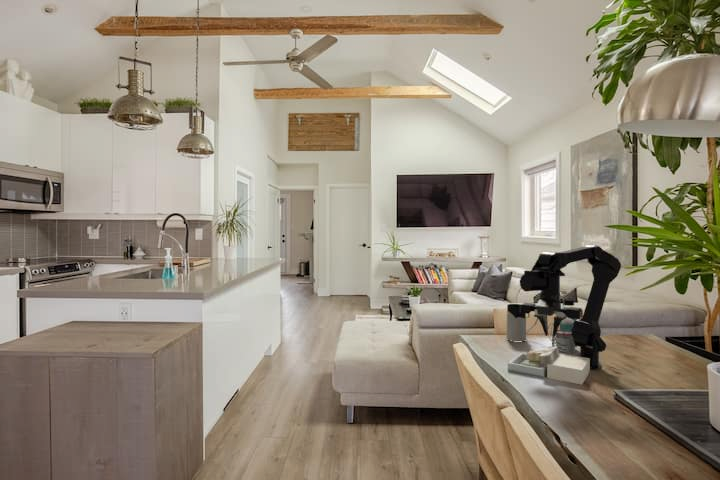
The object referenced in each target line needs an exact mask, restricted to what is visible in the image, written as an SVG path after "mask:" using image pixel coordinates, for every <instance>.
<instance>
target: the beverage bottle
mask: <svg viewBox="0 0 720 480" xmlns="http://www.w3.org/2000/svg"><path fill="white" fill-rule="evenodd" d="M562 305H563V306H564V309H567V308H569V307H574V305H575V301H574V299H571V298H570V299H569V298H563V299H562ZM566 306H567V307H566ZM568 306H569V307H568ZM561 309H563V307H561ZM567 318H568V317H567ZM570 319H571V318H570ZM572 320H574V321H575V320H578V319H572ZM572 328H573V325H564V330H566V331H571V329H572ZM558 330H563V324H560V325H559V328H558ZM563 339H571V338H569V337H564V338H563ZM563 346H567V344H566V345H563ZM577 347H578V346H575V348H577Z"/></svg>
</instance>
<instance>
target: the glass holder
mask: <svg viewBox="0 0 720 480" xmlns="http://www.w3.org/2000/svg"><path fill="white" fill-rule="evenodd" d="M521 305H522V304H520V303H508V304H507V306H506V307H507V311H506V337H505V339H506V338H507V339H508V340H512V341H525V340H527V341H528V339H527V334H528V332H530V330H532V329H533V328H534V327H535V326H536V325H537V323H538V321H539V319H538V318H537V317H536V320H535V322H534V323H533V325H532V326H531V327H529V328H528V330H527V319H529V318H530V316H531V315H530V314H531V312H530V313H529V314H526V313H520V306H521ZM508 340H507V341H508Z"/></svg>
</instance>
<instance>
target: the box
mask: <svg viewBox="0 0 720 480" xmlns="http://www.w3.org/2000/svg"><path fill="white" fill-rule="evenodd" d="M527 357H528V355H527V353H523V352H520V353H518V354H517V355H516V356H514V357H513V358H512V359H511V360H510V361H508V362H507V371H509V372H514V373H519V374H524V375H530V376H535V377H539V378H545V377H547V364H543V365H542V366H541V367H539V368H537V367H532V366H526V365H522V362H523V361H525V360H527Z"/></svg>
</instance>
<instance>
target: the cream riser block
mask: <svg viewBox="0 0 720 480" xmlns="http://www.w3.org/2000/svg"><path fill="white" fill-rule="evenodd" d="M590 369H591V368H590V358H585V357H580V356H577V355H575V356H572V355H566V354H558V356H557V357H556V358H555V359H554V360H553V361H552V362H551V363H550V364H547V374H546V378H547V379H551V380H556V381H561V382H565V383H572V384H576V385H581V386H583V384H584V383H585V380H586V379H587V377H588V376H589V374H590Z"/></svg>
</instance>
